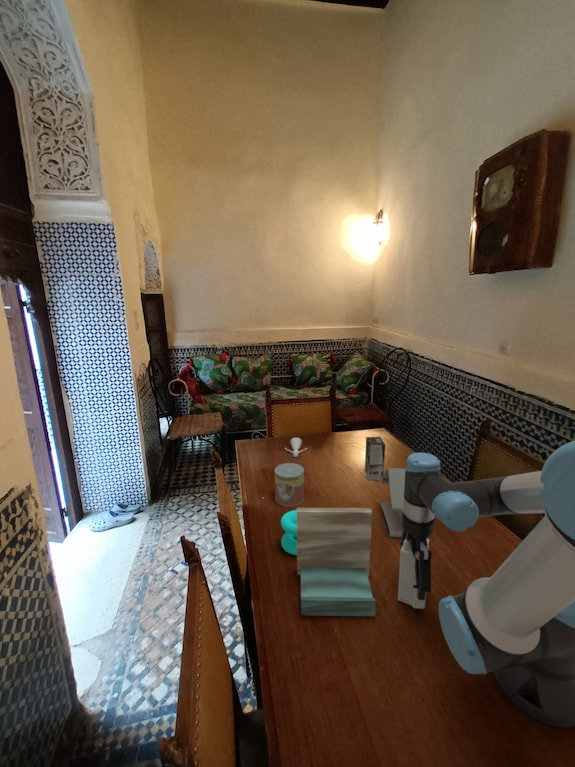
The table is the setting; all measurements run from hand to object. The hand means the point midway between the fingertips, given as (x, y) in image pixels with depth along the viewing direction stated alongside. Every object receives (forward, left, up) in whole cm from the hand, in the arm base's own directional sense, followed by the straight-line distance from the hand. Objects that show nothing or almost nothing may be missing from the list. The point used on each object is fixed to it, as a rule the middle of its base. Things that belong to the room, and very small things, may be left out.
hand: (412, 589), depth 93 cm
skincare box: (0, 0, -1) cm, 1 cm away
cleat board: (0, +20, -1) cm, 20 cm away
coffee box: (+63, -3, -1) cm, 63 cm away
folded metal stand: (+31, -5, -1) cm, 31 cm away
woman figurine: (+89, +31, -2) cm, 94 cm away
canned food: (+45, +33, -1) cm, 56 cm away
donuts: (+18, +30, -1) cm, 35 cm away
